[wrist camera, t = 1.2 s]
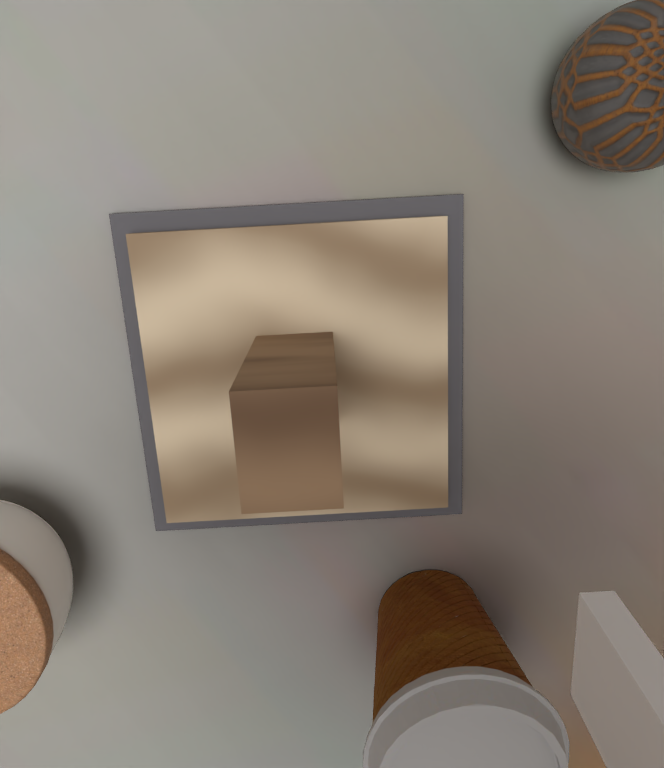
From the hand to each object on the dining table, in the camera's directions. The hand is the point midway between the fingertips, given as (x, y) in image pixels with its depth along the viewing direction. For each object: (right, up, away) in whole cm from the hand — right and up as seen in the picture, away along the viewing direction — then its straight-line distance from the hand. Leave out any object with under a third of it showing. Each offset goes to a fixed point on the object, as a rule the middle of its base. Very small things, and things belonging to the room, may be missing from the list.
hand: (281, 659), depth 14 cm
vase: (+15, +20, +18) cm, 30 cm away
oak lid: (-1, +6, +21) cm, 22 cm away
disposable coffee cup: (+7, -8, +26) cm, 28 cm away
